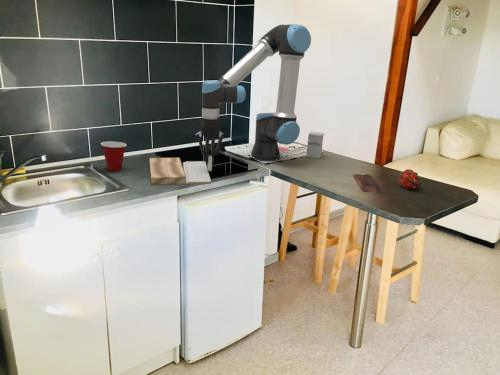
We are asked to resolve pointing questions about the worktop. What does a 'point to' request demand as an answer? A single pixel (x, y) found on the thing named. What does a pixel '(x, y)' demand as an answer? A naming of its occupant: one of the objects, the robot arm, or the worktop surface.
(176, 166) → the oak floor section
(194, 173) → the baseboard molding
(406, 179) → the dragon fruit
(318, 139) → the supplement box
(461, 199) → the worktop surface
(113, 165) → the plastic cup
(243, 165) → the worktop surface
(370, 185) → the wooden tablet
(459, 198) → the worktop surface
